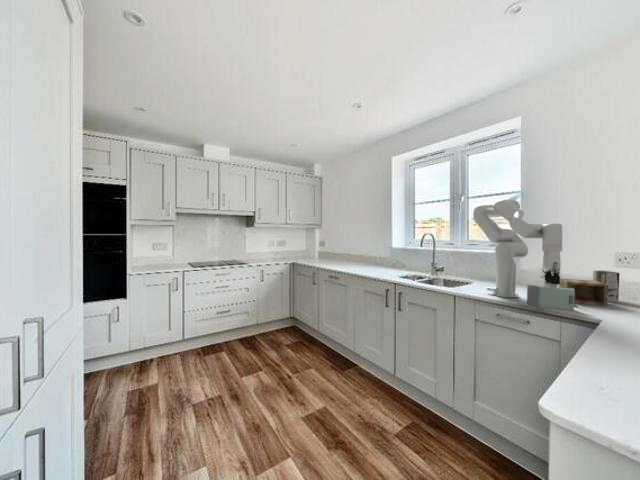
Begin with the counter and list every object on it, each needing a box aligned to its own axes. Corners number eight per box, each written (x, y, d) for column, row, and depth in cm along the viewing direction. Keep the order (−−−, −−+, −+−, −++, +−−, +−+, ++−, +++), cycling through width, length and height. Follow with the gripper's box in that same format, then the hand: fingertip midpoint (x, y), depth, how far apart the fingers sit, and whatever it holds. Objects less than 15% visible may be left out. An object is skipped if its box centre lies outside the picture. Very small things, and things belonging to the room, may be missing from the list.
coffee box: (619, 302, 144) (620, 272, 144) (604, 301, 146) (606, 272, 145) (604, 298, 153) (606, 270, 153) (591, 297, 154) (592, 270, 154)
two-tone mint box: (528, 305, 137) (529, 286, 136) (526, 303, 140) (527, 285, 140) (574, 310, 129) (575, 290, 128) (571, 308, 132) (572, 288, 132)
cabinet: (569, 306, 136) (570, 284, 136) (555, 296, 156) (555, 278, 156) (617, 311, 128) (618, 288, 128) (596, 300, 148) (596, 280, 148)
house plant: (527, 290, 173) (528, 265, 173) (542, 288, 178) (543, 264, 177) (552, 295, 160) (553, 268, 159) (567, 293, 164) (568, 267, 163)
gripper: (537, 247, 143) (537, 279, 143) (547, 248, 127) (547, 284, 127) (556, 247, 139) (555, 280, 139) (568, 249, 124) (568, 286, 124)
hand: (552, 282), depth 133 cm, fingers open, 9 cm apart
